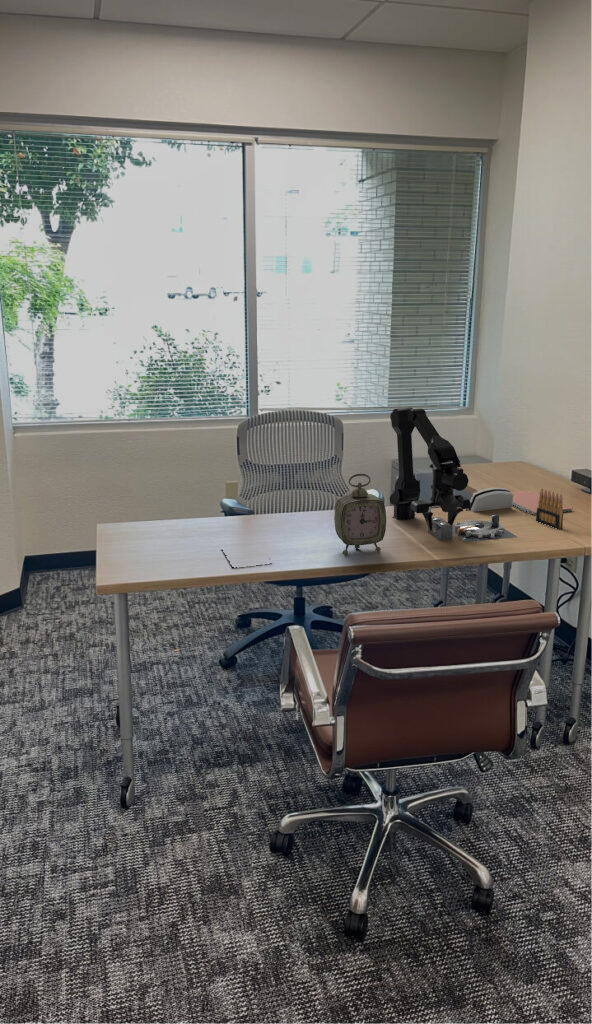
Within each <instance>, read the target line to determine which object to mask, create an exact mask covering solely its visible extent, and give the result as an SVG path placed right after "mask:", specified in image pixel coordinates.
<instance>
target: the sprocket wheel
mask: <svg viewBox="0 0 592 1024" xmlns="http://www.w3.org/2000/svg"><path fill="white" fill-rule="evenodd" d="M454 525H455V530H457V533H458V534H466V536H467V537H470V536H476V537H478V538H482V537H490V538H494V535H500V536H501V535H502V532H504V529H505V526H502V524H501V523H500V514H497V513H495V514H491V520H481V518H479V519H478V518H477V519H476V520H470V519H465V520H464V521H458V522H457V525H456V524H454Z"/></svg>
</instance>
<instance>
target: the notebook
mask: <svg viewBox="0 0 592 1024" xmlns="http://www.w3.org/2000/svg"><path fill="white" fill-rule="evenodd" d="M510 492H511V493H512V494H513V502H512V506H513V505H514V506H513V507H515V506H516V507H515V508H517V507H518V508H517V509H519V511H520V510H521V511H520V512H522V511H523V512H522V513H524V512H526V511H527V512H526V513H525V514H530V513H531V514H530V515H532V514H533V515H532V516H536V515H537V508H538V503H539V497H540V492H536V491H534V490H531V489H528V490H521V491H520V490H519V491H510ZM562 505H563V509H562V513H565V512H566V513H567V511H568V512H572V510H573V509H574V508H573V507H570V506H569V505H566V504H564V503H562ZM528 512H529V513H528Z"/></svg>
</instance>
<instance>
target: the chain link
mask: <svg viewBox="0 0 592 1024" xmlns="http://www.w3.org/2000/svg"><path fill="white" fill-rule="evenodd" d="M452 531H453V526H452V525H450V524H449V523H448V521H446V520H445V519H443V518H442V517H440V516H439V517H432V531H429V528H428V527H427V532H428V533H430V534H431V535H432V536H434V537H435V538H437V539H438V540H439V541H452V540H453V533H452Z"/></svg>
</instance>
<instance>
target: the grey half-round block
mask: <svg viewBox="0 0 592 1024" xmlns="http://www.w3.org/2000/svg"><path fill="white" fill-rule="evenodd" d="M511 492H512V491H511V490H509V489H507V488H505V487H504V488H503V487H489V488H484V489H481V490H478V491H475V492H473V494H472V495H471V498H470V499H469V500H470V502H471V508H470V509H464V511H465V512H468V511H469V512H473V513H475V512H481V511H483V512H484V511H490V510H499V509H508V508H509V509H512V508H513V505H512V502H513V494H512V493H511Z"/></svg>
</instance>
